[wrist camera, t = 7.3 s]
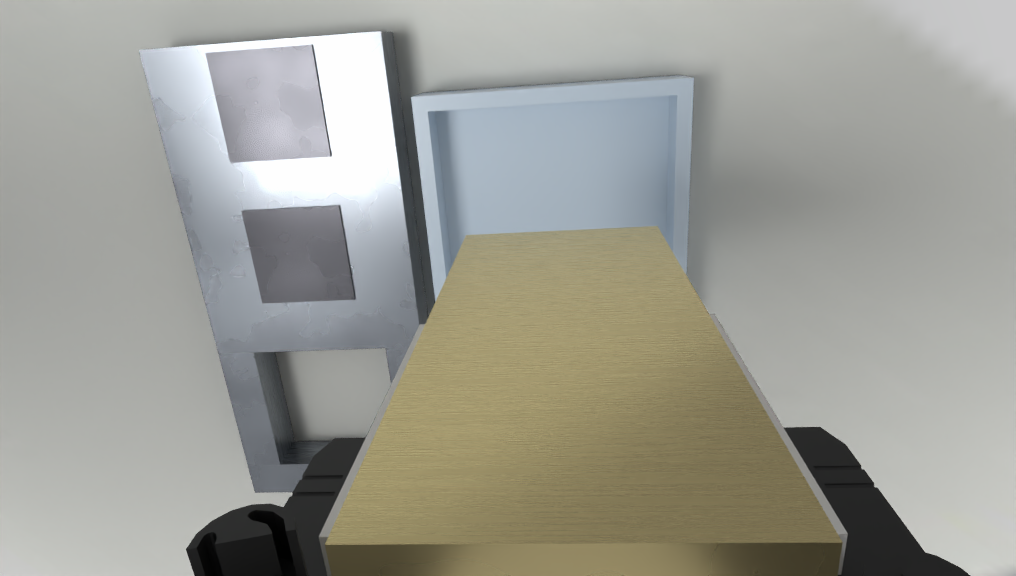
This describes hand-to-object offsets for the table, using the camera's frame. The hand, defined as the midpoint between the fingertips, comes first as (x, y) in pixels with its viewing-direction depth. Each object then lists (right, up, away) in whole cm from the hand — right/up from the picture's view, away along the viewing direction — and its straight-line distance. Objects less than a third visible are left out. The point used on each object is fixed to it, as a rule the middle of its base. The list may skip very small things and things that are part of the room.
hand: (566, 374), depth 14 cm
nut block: (0, +1, +3) cm, 3 cm away
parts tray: (+1, +6, +14) cm, 15 cm away
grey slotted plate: (-10, +2, +16) cm, 20 cm away
